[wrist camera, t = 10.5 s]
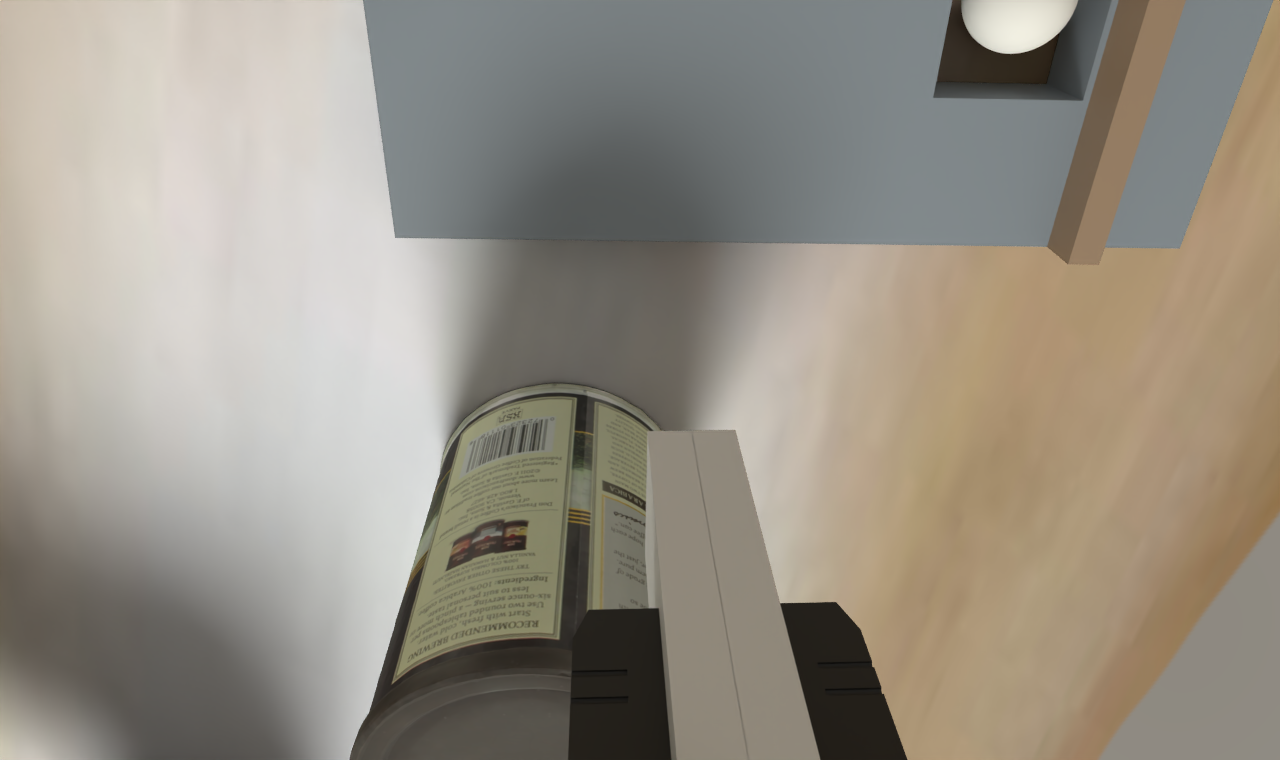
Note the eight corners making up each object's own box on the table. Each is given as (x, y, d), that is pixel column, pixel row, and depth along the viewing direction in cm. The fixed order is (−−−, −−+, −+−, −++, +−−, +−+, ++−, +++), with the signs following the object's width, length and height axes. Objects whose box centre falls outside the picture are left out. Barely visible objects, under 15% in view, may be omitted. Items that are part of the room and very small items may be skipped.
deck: (411, 212, 29) (384, 255, 26) (349, -299, 22) (299, -333, 18) (1139, 222, 30) (1206, 265, 26) (1307, -267, 23) (1430, -294, 19)
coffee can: (568, 606, 39) (545, 930, 27) (391, 484, 35) (271, 798, 23) (733, 483, 36) (792, 791, 23) (556, 332, 32) (516, 608, 20)
